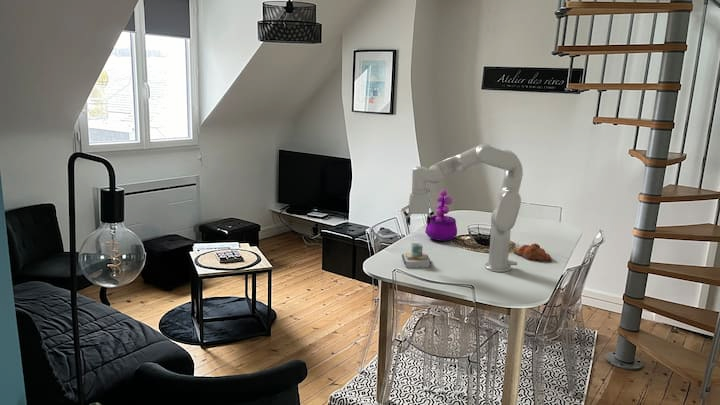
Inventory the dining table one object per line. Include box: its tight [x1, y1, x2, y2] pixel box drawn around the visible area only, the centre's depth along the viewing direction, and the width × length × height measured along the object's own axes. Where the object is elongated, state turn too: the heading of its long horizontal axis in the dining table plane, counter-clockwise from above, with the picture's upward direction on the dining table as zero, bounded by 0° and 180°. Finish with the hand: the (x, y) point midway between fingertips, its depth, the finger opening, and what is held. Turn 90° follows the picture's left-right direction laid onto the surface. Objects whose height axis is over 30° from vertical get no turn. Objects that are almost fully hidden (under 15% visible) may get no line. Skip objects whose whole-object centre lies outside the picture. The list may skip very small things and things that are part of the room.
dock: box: [401, 253, 432, 268], centre depth 272 cm, size 14×12×3 cm
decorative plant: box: [425, 189, 458, 242], centre depth 311 cm, size 19×18×30 cm
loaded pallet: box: [405, 242, 427, 260], centre depth 270 cm, size 10×6×7 cm, turn 92°
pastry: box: [512, 243, 553, 263], centre depth 284 cm, size 17×15×8 cm
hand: (418, 224), depth 267 cm, fingers open, 9 cm apart
